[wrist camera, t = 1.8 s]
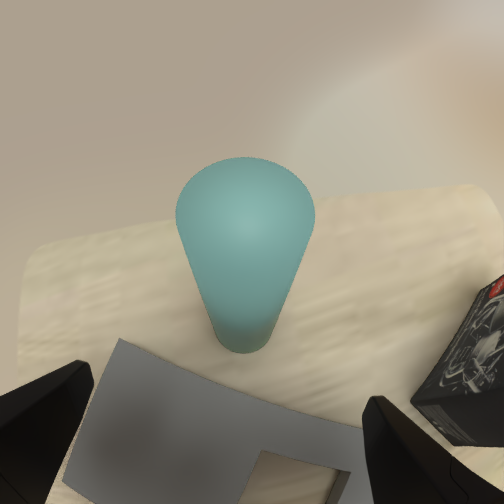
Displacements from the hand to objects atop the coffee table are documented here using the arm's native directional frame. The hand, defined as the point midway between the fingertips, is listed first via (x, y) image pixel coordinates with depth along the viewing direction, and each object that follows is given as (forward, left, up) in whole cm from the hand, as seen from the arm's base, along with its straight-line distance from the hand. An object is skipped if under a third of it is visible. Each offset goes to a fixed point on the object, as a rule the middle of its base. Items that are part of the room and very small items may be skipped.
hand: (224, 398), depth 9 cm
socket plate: (-5, -2, -12) cm, 13 cm away
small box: (+8, -18, -12) cm, 23 cm away
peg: (+5, +1, -12) cm, 13 cm away
